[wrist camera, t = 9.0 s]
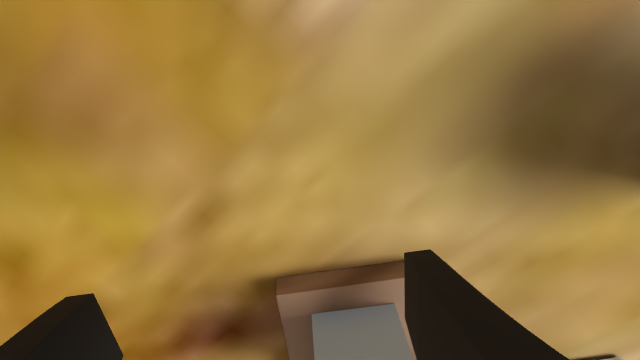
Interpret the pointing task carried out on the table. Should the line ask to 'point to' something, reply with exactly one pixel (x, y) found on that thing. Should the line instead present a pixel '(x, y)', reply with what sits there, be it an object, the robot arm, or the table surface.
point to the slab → (336, 299)
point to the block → (360, 334)
